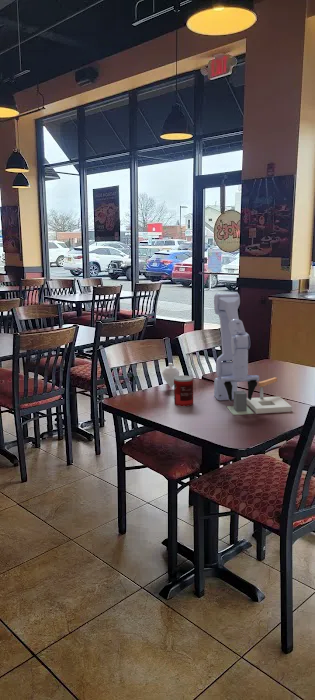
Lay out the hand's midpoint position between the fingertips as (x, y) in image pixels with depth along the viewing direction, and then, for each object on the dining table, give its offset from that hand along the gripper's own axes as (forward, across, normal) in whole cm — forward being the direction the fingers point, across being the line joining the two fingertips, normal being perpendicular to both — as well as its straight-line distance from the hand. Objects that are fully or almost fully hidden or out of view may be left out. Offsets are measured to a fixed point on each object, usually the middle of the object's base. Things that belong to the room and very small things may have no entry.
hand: (240, 399), depth 199 cm
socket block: (+4, +11, +2) cm, 12 cm away
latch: (-3, +15, +10) cm, 18 cm away
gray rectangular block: (+4, 0, 0) cm, 4 cm away
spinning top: (+5, -22, +36) cm, 42 cm away
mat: (+4, 0, 0) cm, 4 cm away
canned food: (+5, -20, +13) cm, 24 cm away
